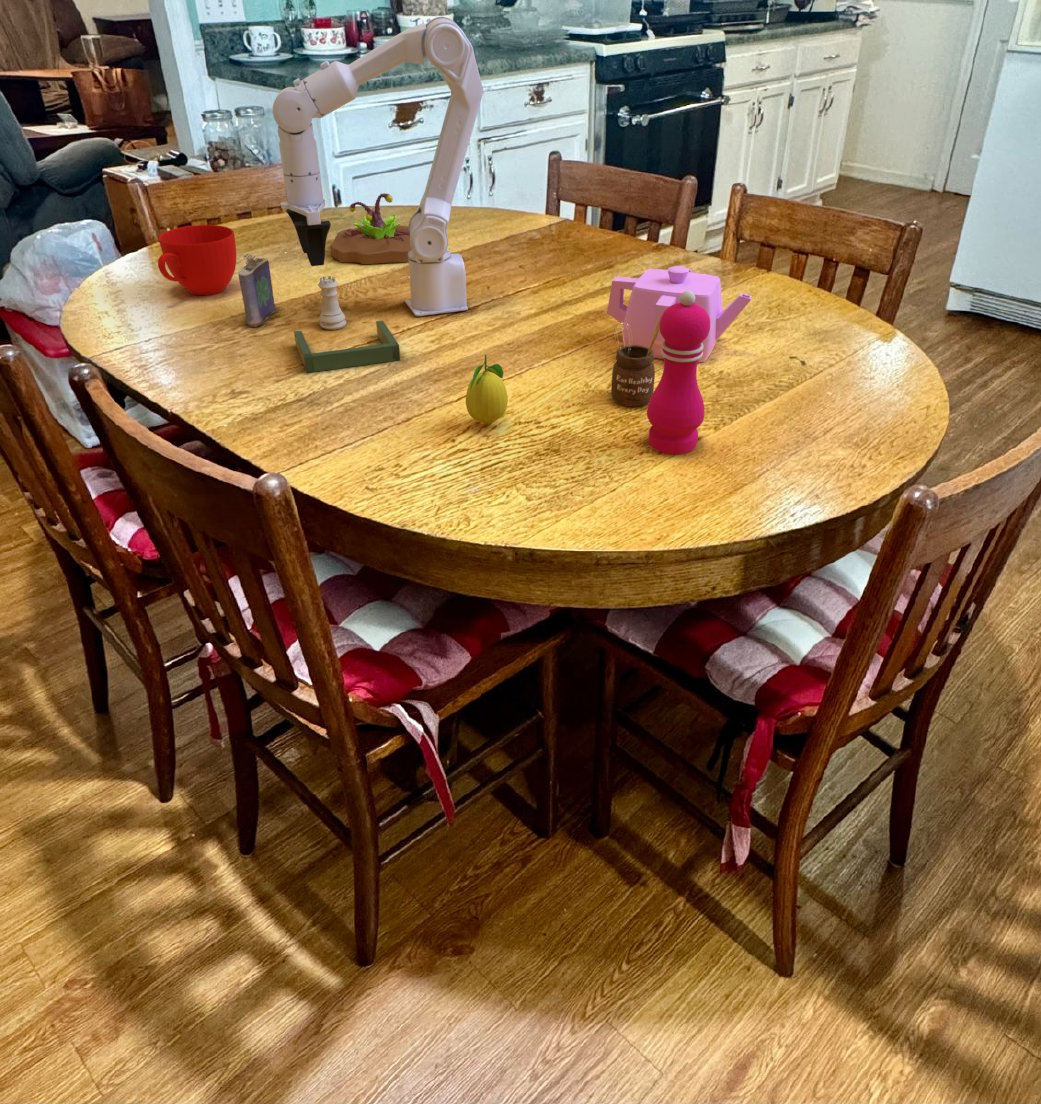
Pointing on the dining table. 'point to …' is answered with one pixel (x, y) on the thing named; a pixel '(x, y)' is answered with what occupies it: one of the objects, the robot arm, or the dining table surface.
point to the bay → (349, 353)
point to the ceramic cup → (199, 257)
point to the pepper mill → (679, 378)
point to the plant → (372, 239)
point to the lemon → (487, 394)
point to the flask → (256, 290)
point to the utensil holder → (633, 373)
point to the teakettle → (669, 304)
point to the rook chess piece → (330, 305)
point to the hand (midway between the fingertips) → (313, 258)
